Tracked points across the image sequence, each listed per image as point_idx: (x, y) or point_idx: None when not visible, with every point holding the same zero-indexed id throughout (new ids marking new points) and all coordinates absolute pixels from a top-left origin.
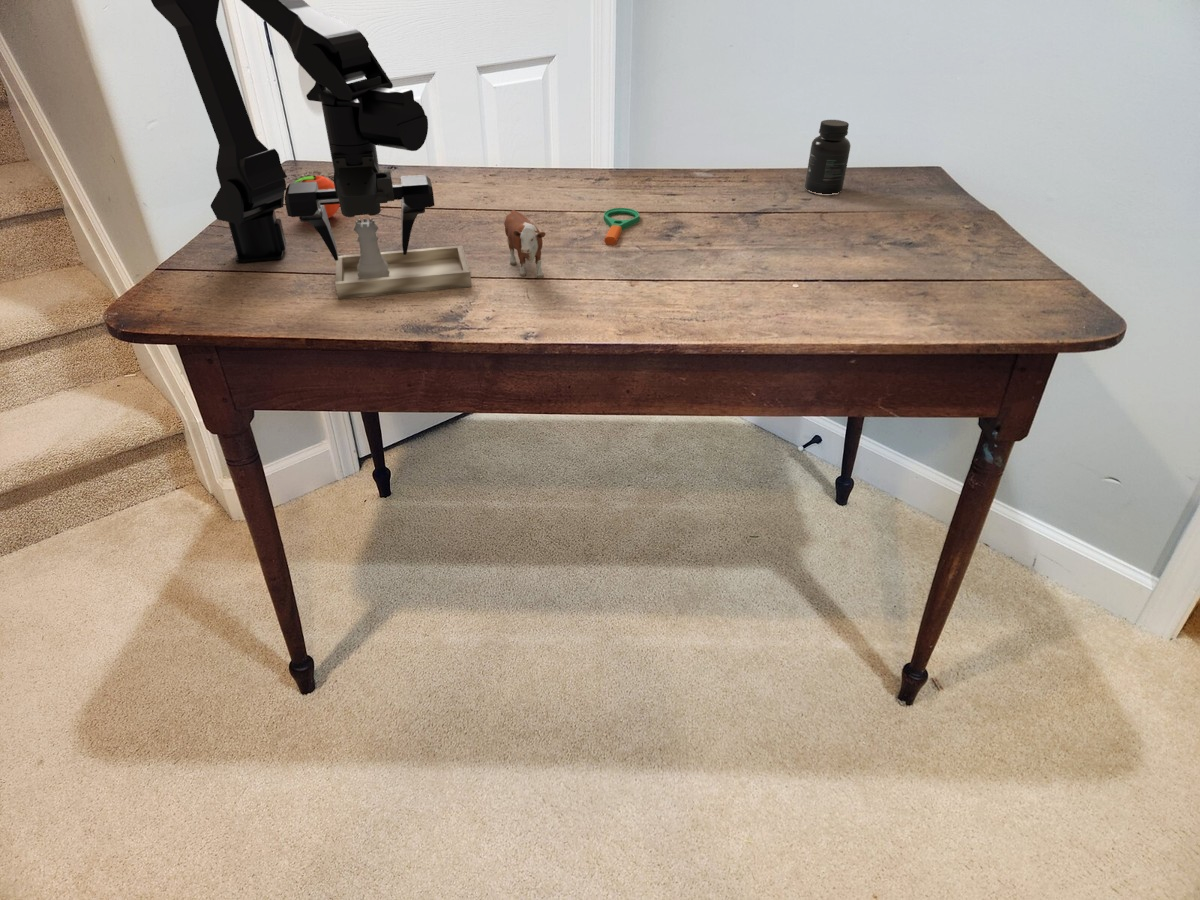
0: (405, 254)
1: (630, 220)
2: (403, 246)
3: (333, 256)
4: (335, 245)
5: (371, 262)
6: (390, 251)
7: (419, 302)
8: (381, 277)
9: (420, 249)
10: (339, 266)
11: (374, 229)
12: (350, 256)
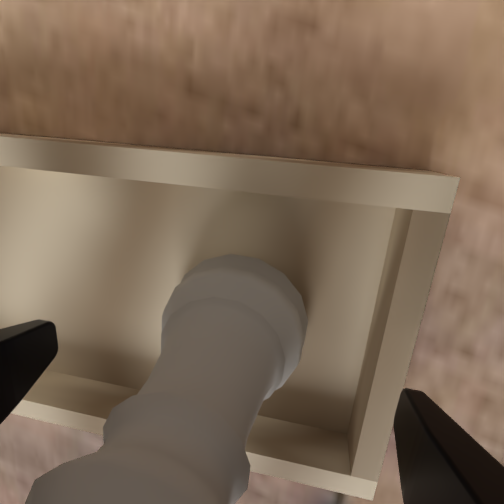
0: (43, 320)
1: None
2: (2, 337)
3: (437, 409)
4: (417, 494)
5: (219, 310)
6: None
7: (80, 21)
8: (208, 262)
9: (40, 416)
10: (383, 393)
11: (40, 487)
12: (312, 470)
